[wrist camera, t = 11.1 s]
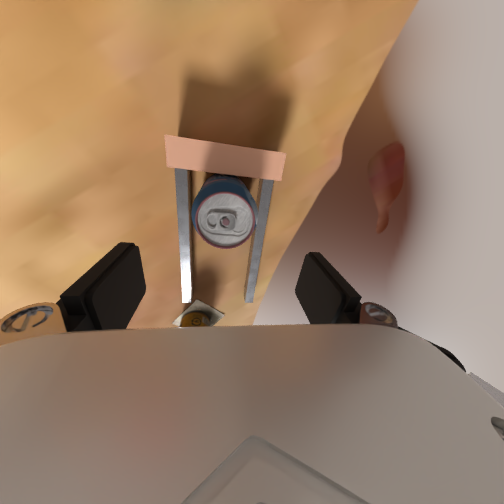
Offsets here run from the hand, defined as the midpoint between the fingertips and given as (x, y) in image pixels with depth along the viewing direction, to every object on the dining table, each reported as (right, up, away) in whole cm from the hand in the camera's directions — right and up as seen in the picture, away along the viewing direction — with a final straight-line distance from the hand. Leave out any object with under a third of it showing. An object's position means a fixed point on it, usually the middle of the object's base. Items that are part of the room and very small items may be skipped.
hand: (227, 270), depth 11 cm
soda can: (-3, +10, +18) cm, 20 cm away
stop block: (-2, +14, +15) cm, 21 cm away
